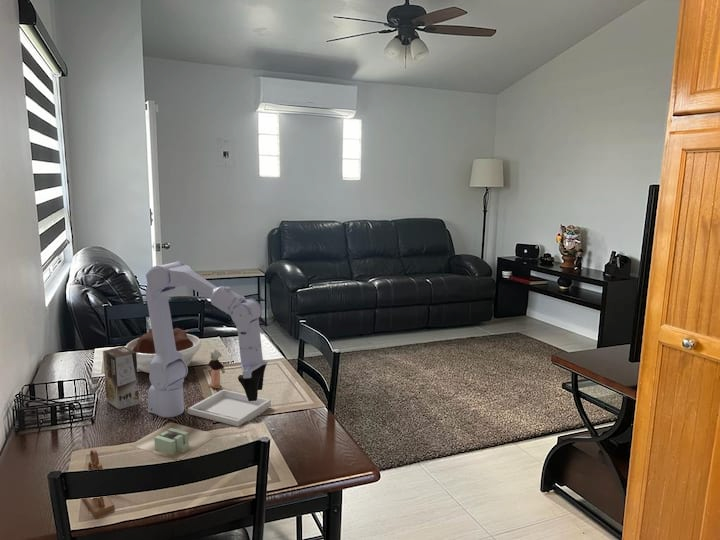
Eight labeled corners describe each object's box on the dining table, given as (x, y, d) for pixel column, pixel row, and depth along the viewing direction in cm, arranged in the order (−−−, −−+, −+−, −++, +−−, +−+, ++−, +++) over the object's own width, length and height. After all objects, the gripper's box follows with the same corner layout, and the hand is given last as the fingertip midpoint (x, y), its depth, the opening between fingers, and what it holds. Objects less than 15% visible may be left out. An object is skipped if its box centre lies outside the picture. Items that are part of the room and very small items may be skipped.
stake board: (129, 448, 131) (128, 431, 130) (171, 425, 143) (170, 409, 142) (178, 464, 124) (178, 446, 123) (217, 438, 137) (217, 421, 136)
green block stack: (154, 449, 129) (154, 437, 128) (171, 439, 134) (171, 427, 133) (177, 456, 126) (176, 443, 125) (193, 445, 131) (193, 433, 130)
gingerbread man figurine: (81, 497, 111) (77, 445, 109) (100, 490, 113) (97, 439, 111) (94, 517, 104) (90, 462, 102) (115, 509, 107) (111, 455, 105)
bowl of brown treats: (216, 365, 190) (215, 325, 187) (157, 387, 169) (154, 343, 166) (171, 352, 203) (169, 315, 200) (111, 371, 182) (108, 330, 179)
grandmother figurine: (202, 387, 170) (201, 349, 168) (210, 383, 174) (209, 346, 171) (222, 391, 167) (221, 353, 165) (229, 386, 171) (228, 349, 169)
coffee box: (140, 403, 157) (137, 352, 154) (118, 410, 152) (114, 357, 149) (127, 395, 163) (124, 345, 160) (105, 401, 158) (102, 350, 155)
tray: (187, 416, 149) (187, 408, 148) (223, 396, 163) (223, 389, 162) (238, 429, 142) (237, 421, 141) (270, 407, 156) (270, 399, 155)
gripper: (260, 352, 131) (265, 404, 133) (270, 337, 145) (274, 384, 147) (232, 355, 131) (238, 406, 133) (244, 339, 145) (249, 386, 147)
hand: (255, 395), depth 140 cm, fingers open, 7 cm apart
